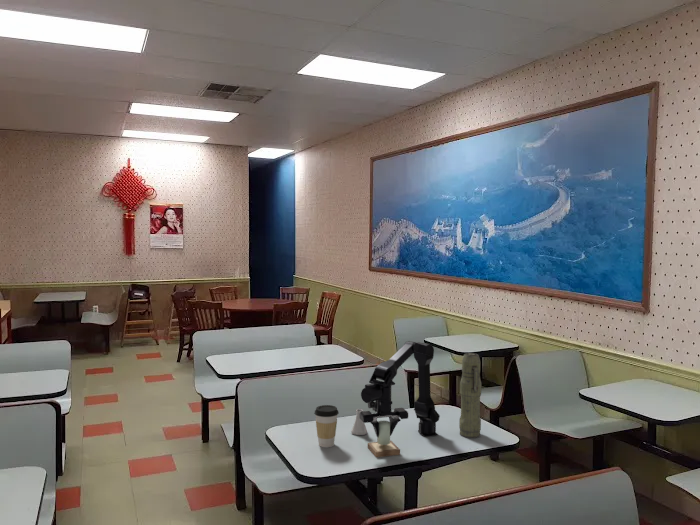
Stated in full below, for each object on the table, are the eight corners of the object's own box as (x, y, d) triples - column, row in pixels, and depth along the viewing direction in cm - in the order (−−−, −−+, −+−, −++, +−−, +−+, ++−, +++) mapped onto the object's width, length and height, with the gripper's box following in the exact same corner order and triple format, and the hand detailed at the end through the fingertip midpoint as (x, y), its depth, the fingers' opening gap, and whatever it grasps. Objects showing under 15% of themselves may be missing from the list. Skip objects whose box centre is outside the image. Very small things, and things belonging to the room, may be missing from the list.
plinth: (390, 445, 229) (390, 440, 229) (400, 454, 220) (400, 449, 220) (367, 447, 226) (367, 442, 226) (375, 457, 217) (375, 452, 217)
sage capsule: (387, 439, 226) (387, 420, 226) (391, 444, 221) (392, 424, 221) (375, 440, 225) (375, 421, 224) (379, 445, 220) (380, 425, 219)
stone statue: (472, 428, 249) (473, 350, 247) (486, 438, 238) (487, 356, 236) (454, 430, 246) (455, 351, 244) (467, 440, 235) (468, 357, 233)
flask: (366, 436, 239) (366, 413, 238) (349, 435, 240) (349, 412, 240) (369, 430, 246) (369, 408, 245) (352, 429, 247) (352, 406, 247)
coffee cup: (341, 441, 233) (342, 406, 232) (333, 450, 223) (333, 413, 223) (319, 438, 236) (319, 403, 235) (310, 447, 227) (310, 410, 226)
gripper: (398, 390, 232) (398, 427, 233) (355, 393, 227) (355, 431, 228) (409, 397, 222) (408, 436, 223) (364, 401, 216) (363, 441, 217)
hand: (383, 436), depth 223 cm, fingers closed on sage capsule, 5 cm apart
